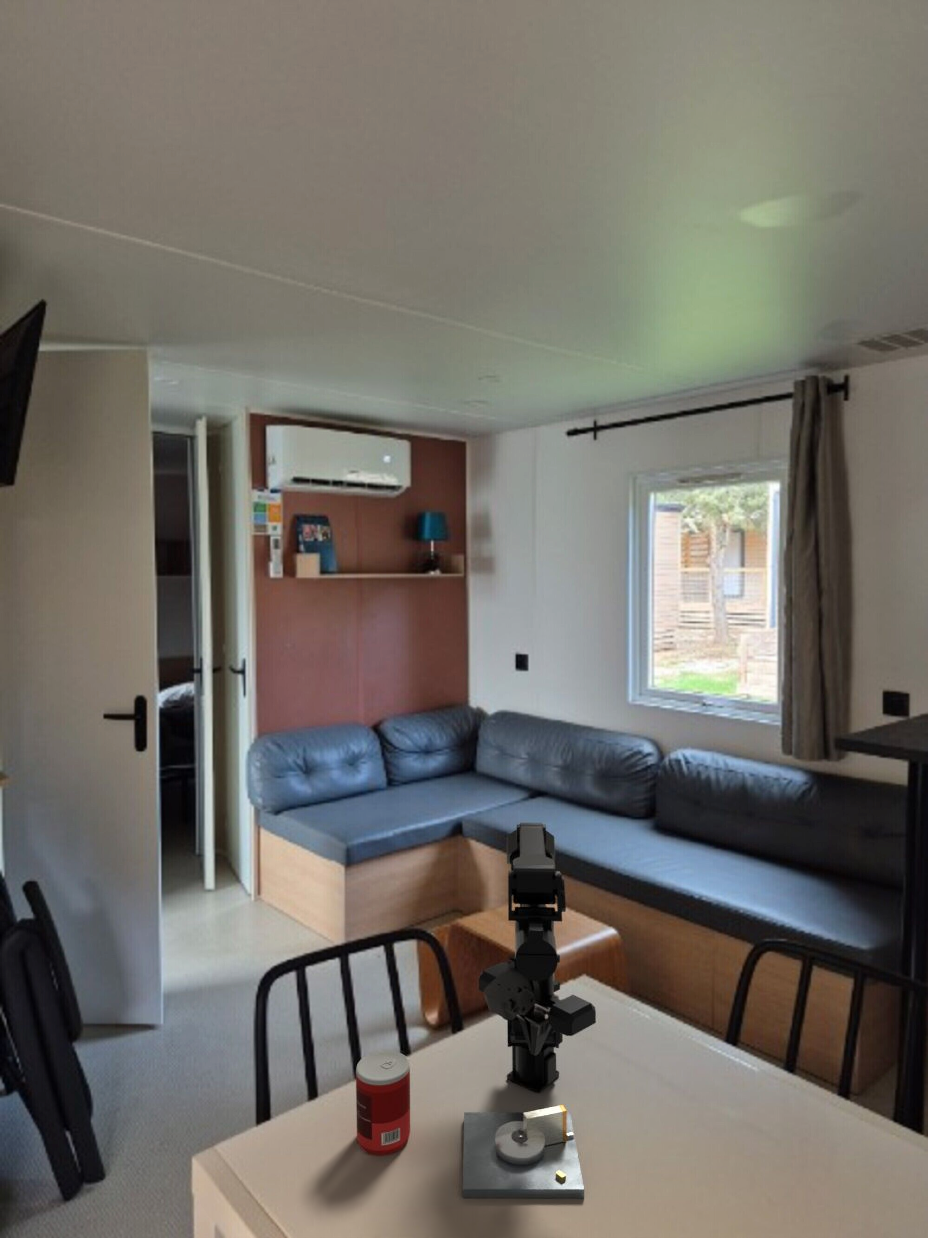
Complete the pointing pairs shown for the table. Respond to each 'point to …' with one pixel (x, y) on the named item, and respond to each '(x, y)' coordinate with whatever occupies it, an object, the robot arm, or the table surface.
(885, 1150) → the table surface
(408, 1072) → the canned food
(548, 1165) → the panel
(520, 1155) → the dial
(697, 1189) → the table surface
